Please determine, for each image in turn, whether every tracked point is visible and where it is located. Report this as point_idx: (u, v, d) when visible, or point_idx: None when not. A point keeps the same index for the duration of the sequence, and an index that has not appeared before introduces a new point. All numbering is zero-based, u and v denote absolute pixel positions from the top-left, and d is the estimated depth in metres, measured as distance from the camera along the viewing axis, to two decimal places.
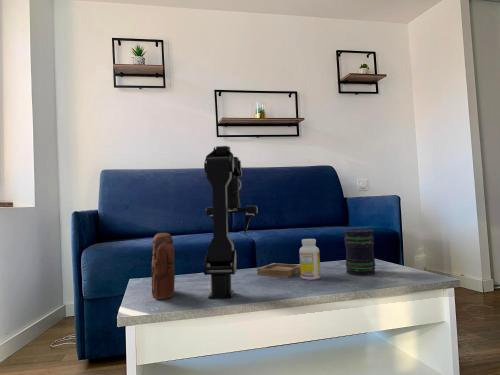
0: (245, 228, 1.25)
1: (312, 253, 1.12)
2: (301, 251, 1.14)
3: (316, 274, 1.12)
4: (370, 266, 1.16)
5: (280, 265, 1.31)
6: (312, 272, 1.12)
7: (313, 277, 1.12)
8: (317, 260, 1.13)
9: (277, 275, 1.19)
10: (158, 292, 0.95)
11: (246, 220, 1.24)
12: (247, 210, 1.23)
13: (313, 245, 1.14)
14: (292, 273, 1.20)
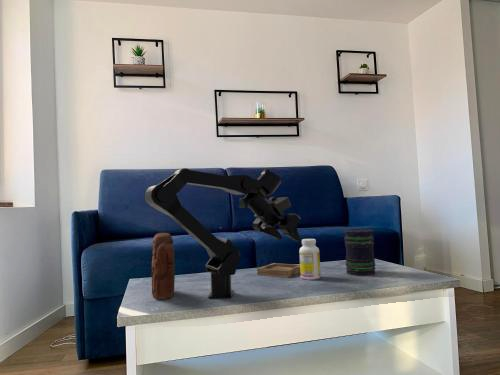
0: (294, 239, 1.06)
1: (312, 253, 1.12)
2: (301, 251, 1.14)
3: (316, 274, 1.12)
4: (370, 266, 1.16)
5: (280, 265, 1.31)
6: (312, 272, 1.12)
7: (313, 277, 1.12)
8: (317, 260, 1.13)
9: (277, 275, 1.19)
10: (158, 292, 0.95)
11: (288, 236, 1.04)
12: (281, 230, 1.02)
13: (313, 245, 1.14)
14: (292, 273, 1.20)
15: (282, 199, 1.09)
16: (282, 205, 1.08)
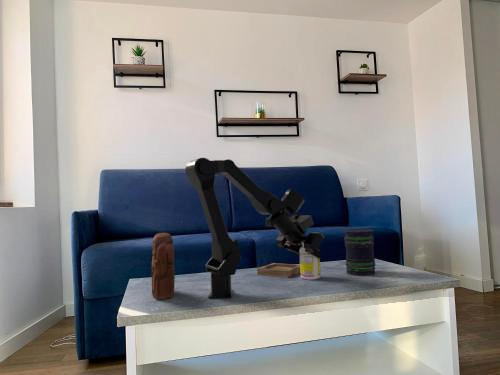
0: (315, 256, 1.12)
1: None
2: (301, 251, 1.14)
3: (316, 274, 1.12)
4: (370, 266, 1.16)
5: (280, 265, 1.31)
6: (312, 272, 1.12)
7: (313, 277, 1.12)
8: (317, 260, 1.13)
9: (277, 275, 1.19)
10: (158, 292, 0.95)
11: (309, 253, 1.10)
12: (306, 248, 1.07)
13: None
14: (292, 273, 1.20)
15: (305, 217, 1.14)
16: (305, 223, 1.12)
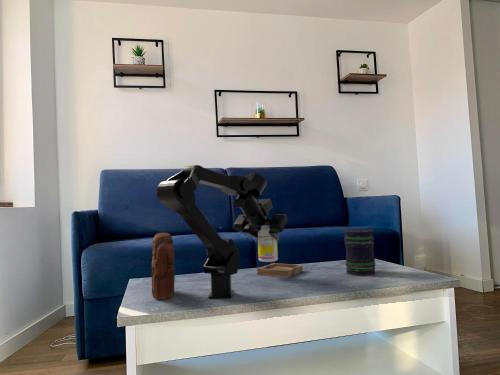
0: (275, 238, 1.15)
1: None
2: (261, 234, 1.16)
3: (275, 256, 1.15)
4: (370, 266, 1.16)
5: (280, 265, 1.31)
6: (272, 254, 1.15)
7: (273, 259, 1.15)
8: (276, 242, 1.16)
9: (277, 275, 1.19)
10: (158, 292, 0.95)
11: (272, 235, 1.12)
12: (271, 229, 1.09)
13: None
14: (292, 273, 1.20)
15: (266, 201, 1.16)
16: (267, 206, 1.15)
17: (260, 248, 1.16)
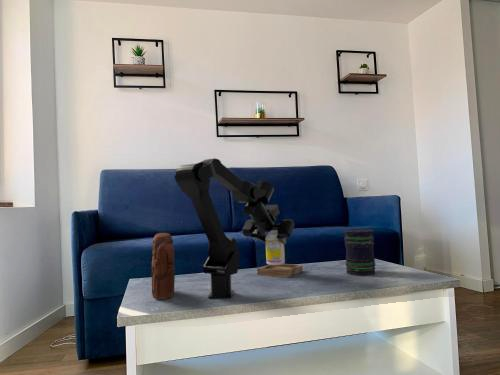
0: (282, 242, 1.20)
1: None
2: (269, 239, 1.21)
3: (283, 259, 1.21)
4: (370, 266, 1.16)
5: (280, 265, 1.31)
6: (280, 257, 1.20)
7: (280, 262, 1.20)
8: (283, 246, 1.22)
9: (277, 275, 1.19)
10: (158, 292, 0.95)
11: (280, 239, 1.18)
12: (279, 235, 1.14)
13: None
14: (292, 273, 1.20)
15: (273, 206, 1.21)
16: (275, 212, 1.19)
17: (268, 252, 1.21)
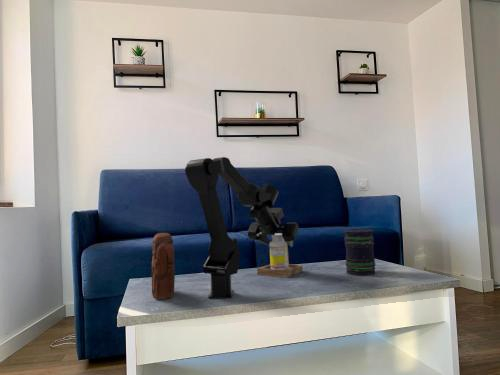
0: (289, 245, 1.22)
1: (283, 246, 1.23)
2: (273, 245, 1.23)
3: (287, 265, 1.23)
4: (370, 266, 1.16)
5: None
6: (284, 263, 1.22)
7: (285, 268, 1.22)
8: (287, 252, 1.24)
9: (277, 275, 1.19)
10: (158, 292, 0.95)
11: (287, 242, 1.19)
12: (284, 237, 1.17)
13: (283, 239, 1.24)
14: (292, 273, 1.20)
15: (277, 210, 1.24)
16: (279, 215, 1.22)
17: (272, 258, 1.23)
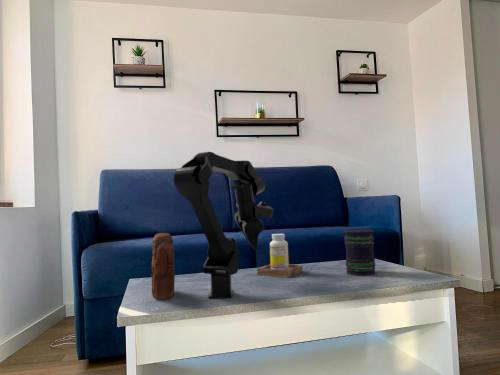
0: None
1: (284, 246, 1.23)
2: (273, 245, 1.23)
3: (287, 265, 1.23)
4: (370, 266, 1.16)
5: None
6: (284, 263, 1.22)
7: (285, 268, 1.22)
8: (287, 252, 1.24)
9: (277, 275, 1.19)
10: (158, 292, 0.95)
11: (246, 236, 1.08)
12: (242, 226, 1.06)
13: (283, 239, 1.24)
14: (292, 273, 1.20)
15: (267, 207, 1.12)
16: (262, 211, 1.11)
17: (272, 258, 1.23)
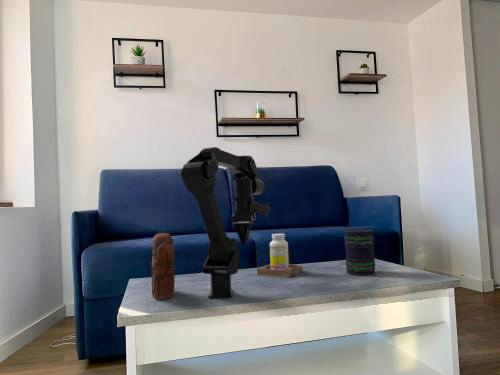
0: None
1: (284, 246, 1.22)
2: (273, 245, 1.23)
3: (287, 265, 1.23)
4: (370, 266, 1.16)
5: None
6: (284, 264, 1.22)
7: (285, 268, 1.22)
8: (287, 252, 1.24)
9: (277, 275, 1.19)
10: (158, 292, 0.95)
11: None
12: None
13: (283, 239, 1.24)
14: (292, 273, 1.20)
15: None
16: (258, 207, 1.09)
17: (272, 258, 1.23)
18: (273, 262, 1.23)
